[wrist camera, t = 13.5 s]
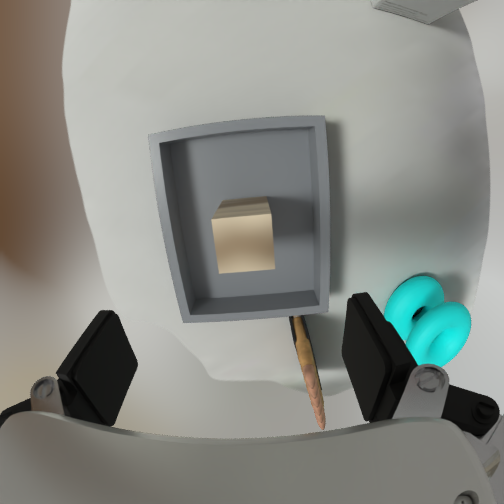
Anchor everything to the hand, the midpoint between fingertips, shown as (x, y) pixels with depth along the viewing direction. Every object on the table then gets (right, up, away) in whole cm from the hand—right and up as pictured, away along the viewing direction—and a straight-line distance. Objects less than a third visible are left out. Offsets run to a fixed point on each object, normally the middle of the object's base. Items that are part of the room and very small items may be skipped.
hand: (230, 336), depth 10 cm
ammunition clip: (+8, -9, +26) cm, 28 cm away
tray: (0, +7, +19) cm, 21 cm away
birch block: (0, +7, +18) cm, 20 cm away
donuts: (+23, -4, +24) cm, 34 cm away
